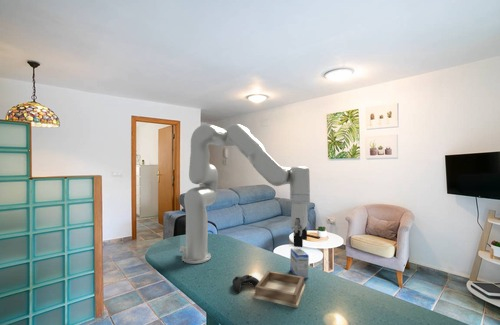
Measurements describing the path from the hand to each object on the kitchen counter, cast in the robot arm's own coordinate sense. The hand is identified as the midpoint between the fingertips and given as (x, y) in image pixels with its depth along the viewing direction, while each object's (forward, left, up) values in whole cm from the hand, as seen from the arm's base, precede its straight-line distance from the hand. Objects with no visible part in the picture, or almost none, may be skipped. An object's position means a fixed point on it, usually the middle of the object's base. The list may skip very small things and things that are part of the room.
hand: (300, 242), depth 94 cm
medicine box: (-1, 0, -12) cm, 12 cm away
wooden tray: (-4, -16, -12) cm, 20 cm away
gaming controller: (-16, -18, -13) cm, 27 cm away
